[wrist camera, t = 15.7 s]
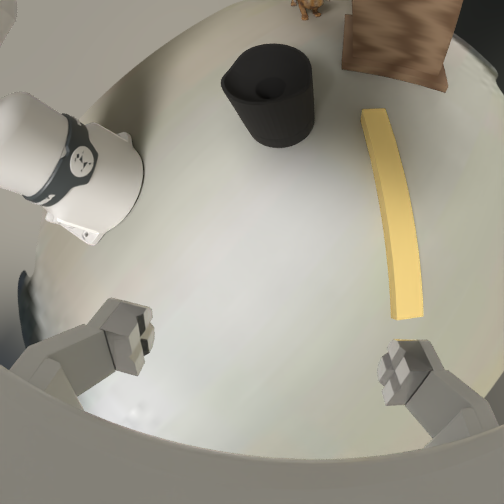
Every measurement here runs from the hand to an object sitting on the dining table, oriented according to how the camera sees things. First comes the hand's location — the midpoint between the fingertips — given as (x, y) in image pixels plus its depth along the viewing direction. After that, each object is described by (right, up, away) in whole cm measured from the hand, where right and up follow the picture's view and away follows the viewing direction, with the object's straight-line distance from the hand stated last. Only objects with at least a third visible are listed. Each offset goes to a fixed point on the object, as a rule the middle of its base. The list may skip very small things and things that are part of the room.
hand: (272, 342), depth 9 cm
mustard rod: (+15, +8, +20) cm, 27 cm away
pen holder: (+3, +20, +25) cm, 32 cm away
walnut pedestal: (+21, +34, +22) cm, 46 cm away
